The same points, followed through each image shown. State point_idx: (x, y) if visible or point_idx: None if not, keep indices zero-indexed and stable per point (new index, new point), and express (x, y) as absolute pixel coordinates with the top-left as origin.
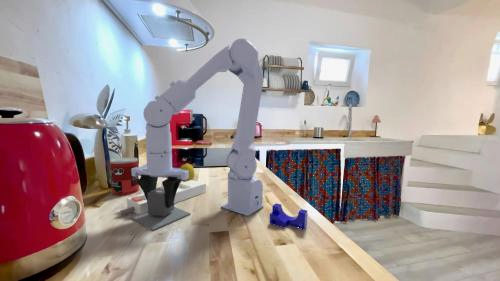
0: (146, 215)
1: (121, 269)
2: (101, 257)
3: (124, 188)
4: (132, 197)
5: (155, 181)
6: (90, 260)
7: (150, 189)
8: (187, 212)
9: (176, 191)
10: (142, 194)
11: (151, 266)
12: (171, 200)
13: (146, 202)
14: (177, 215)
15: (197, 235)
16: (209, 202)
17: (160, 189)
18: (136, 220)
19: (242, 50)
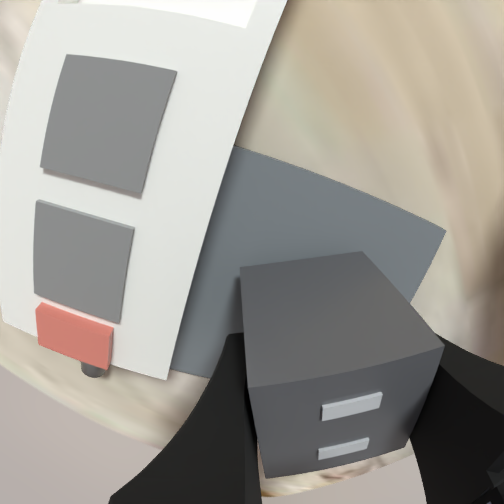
0: (221, 336)
1: (358, 469)
2: (289, 475)
3: None
4: (38, 339)
5: (248, 487)
6: (275, 482)
7: (255, 470)
8: (431, 227)
9: (466, 354)
10: (8, 234)
11: (409, 446)
12: None
13: (174, 346)
14: (394, 277)
15: (485, 344)
16: (462, 35)
17: (323, 418)
18: (211, 375)
19: None
